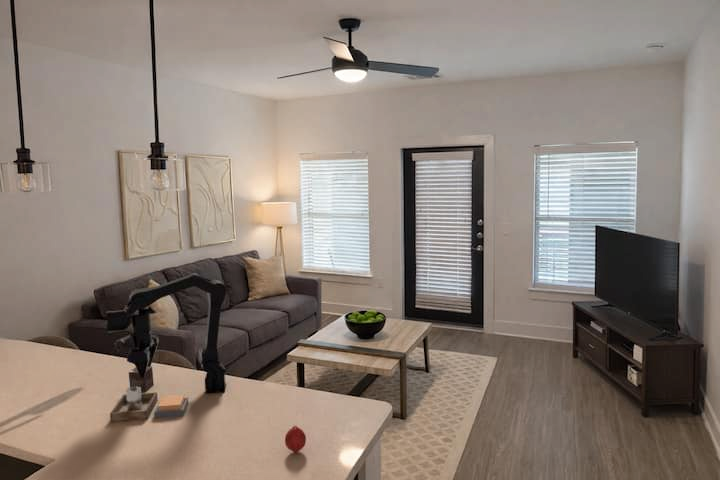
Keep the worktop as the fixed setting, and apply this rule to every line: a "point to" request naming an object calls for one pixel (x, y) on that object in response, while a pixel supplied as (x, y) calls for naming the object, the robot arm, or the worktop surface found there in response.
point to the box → (141, 379)
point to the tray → (122, 413)
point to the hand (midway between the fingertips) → (145, 371)
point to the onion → (295, 439)
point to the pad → (171, 403)
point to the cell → (134, 398)
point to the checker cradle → (171, 411)
